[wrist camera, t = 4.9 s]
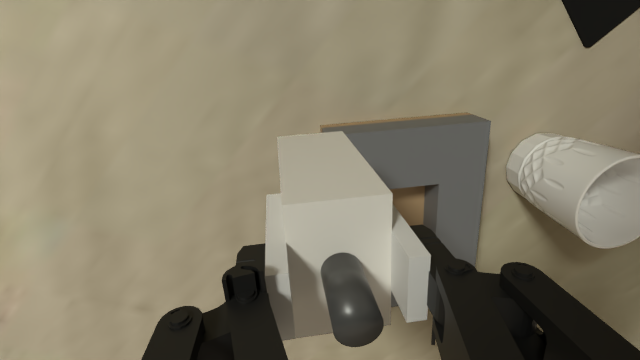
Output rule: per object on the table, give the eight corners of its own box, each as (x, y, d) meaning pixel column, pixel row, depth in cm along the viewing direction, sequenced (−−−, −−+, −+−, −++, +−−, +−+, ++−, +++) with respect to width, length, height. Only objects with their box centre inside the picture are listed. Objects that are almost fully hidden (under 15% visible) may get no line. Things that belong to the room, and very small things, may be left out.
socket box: (320, 125, 33) (326, 136, 29) (467, 112, 34) (490, 120, 31) (330, 289, 40) (336, 314, 36) (453, 272, 41) (471, 295, 37)
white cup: (563, 112, 36) (666, 136, 27) (578, 177, 39) (676, 220, 29) (490, 149, 36) (566, 186, 27) (510, 211, 39) (585, 264, 30)
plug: (277, 136, 22) (284, 250, 10) (342, 130, 22) (425, 234, 10) (286, 224, 24) (301, 406, 12) (345, 218, 25) (417, 387, 13)
